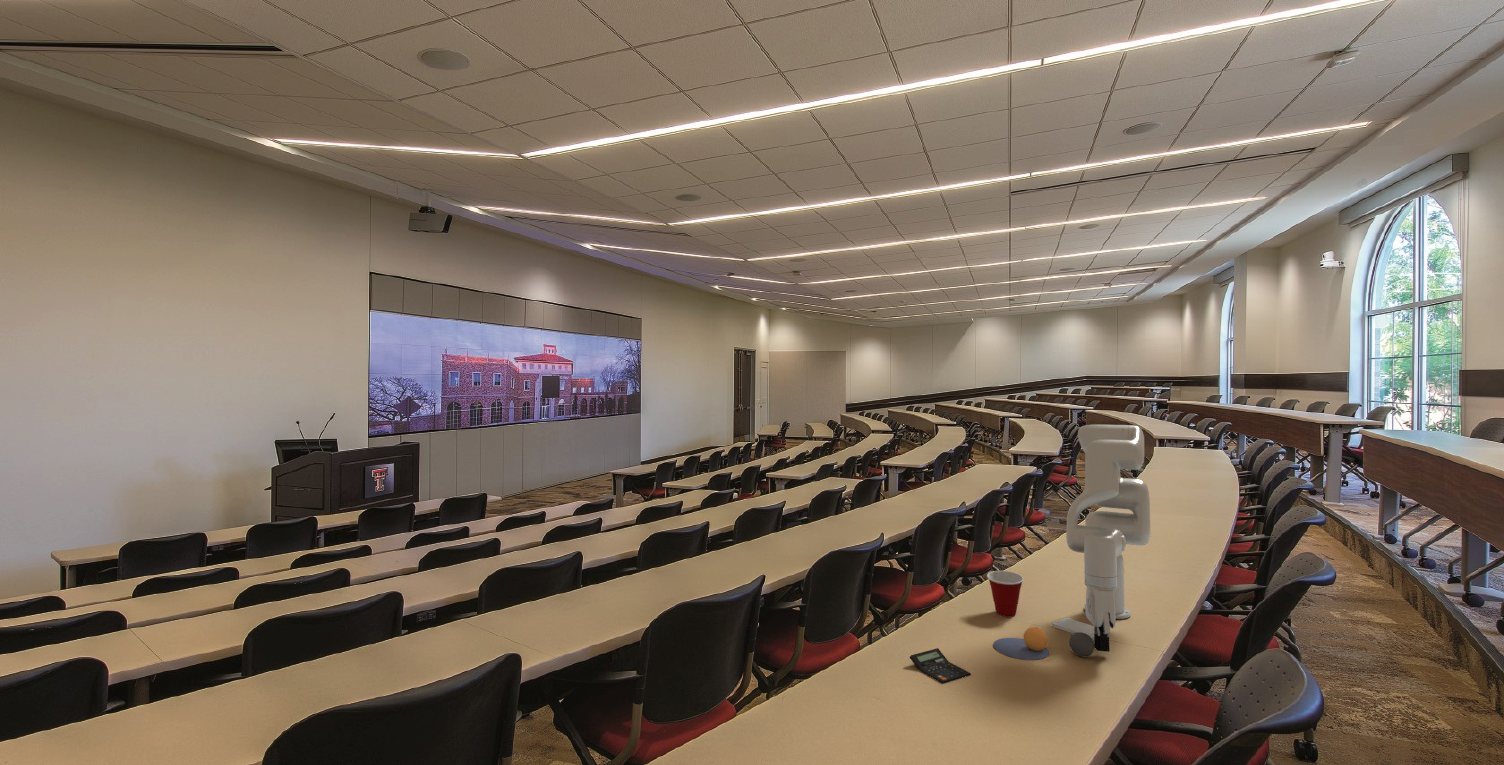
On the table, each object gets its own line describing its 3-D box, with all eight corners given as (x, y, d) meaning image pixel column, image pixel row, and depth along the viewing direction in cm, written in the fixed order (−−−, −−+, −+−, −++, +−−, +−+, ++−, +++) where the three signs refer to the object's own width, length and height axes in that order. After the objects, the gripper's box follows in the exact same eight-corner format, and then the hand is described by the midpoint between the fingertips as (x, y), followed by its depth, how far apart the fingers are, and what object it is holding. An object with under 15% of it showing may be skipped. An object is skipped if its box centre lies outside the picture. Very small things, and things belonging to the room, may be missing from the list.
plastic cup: (987, 617, 192) (986, 578, 192) (987, 606, 202) (987, 569, 202) (1025, 622, 188) (1024, 582, 188) (1024, 610, 198) (1023, 572, 198)
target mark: (990, 636, 177) (990, 635, 177) (1043, 640, 174) (1043, 640, 174) (996, 657, 164) (996, 656, 164) (1054, 662, 160) (1054, 661, 160)
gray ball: (1093, 636, 167) (1077, 651, 168) (1076, 623, 166) (1060, 638, 168) (1103, 650, 161) (1086, 666, 162) (1086, 637, 160) (1069, 653, 162)
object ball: (1047, 644, 170) (1023, 646, 172) (1043, 623, 170) (1020, 624, 172) (1052, 654, 164) (1028, 655, 166) (1048, 631, 165) (1024, 633, 166)
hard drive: (1051, 623, 185) (1093, 636, 174) (1067, 617, 189) (1108, 630, 179) (1051, 628, 185) (1093, 642, 174) (1067, 622, 189) (1108, 635, 179)
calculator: (942, 685, 150) (942, 672, 150) (909, 666, 160) (909, 654, 160) (970, 676, 154) (970, 664, 154) (936, 658, 164) (936, 647, 164)
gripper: (1077, 571, 172) (1078, 637, 172) (1093, 588, 158) (1094, 660, 158) (1107, 573, 171) (1108, 640, 170) (1126, 590, 156) (1127, 663, 156)
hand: (1101, 650), depth 164 cm, fingers closed
